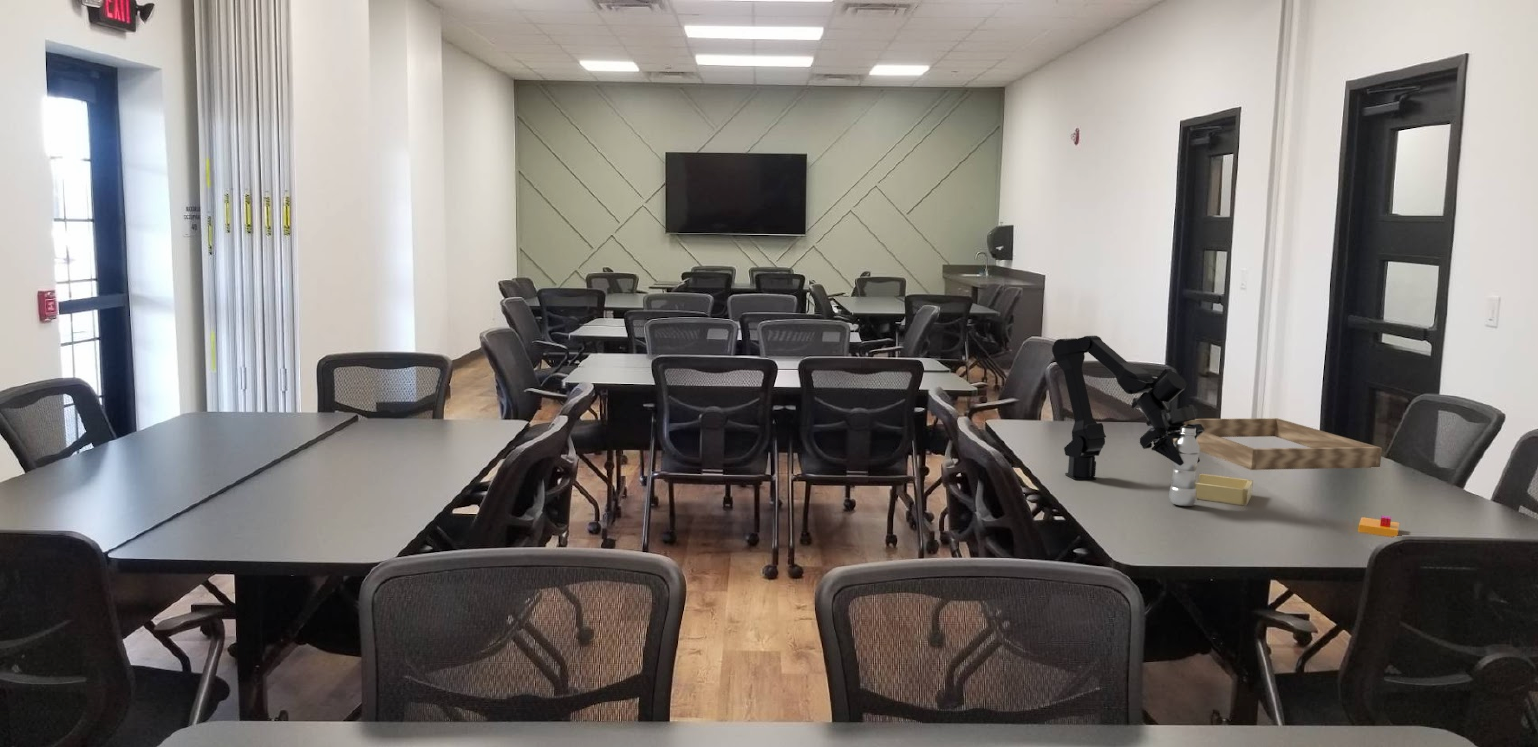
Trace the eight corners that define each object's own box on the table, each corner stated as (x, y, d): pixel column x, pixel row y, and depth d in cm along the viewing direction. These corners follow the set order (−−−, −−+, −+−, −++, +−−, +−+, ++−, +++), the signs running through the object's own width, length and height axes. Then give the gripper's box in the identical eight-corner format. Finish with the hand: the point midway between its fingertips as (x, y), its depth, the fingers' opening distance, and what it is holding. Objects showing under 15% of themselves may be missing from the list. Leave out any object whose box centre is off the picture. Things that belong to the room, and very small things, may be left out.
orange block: (1357, 533, 256) (1359, 515, 256) (1360, 525, 263) (1362, 508, 263) (1397, 539, 252) (1399, 521, 252) (1398, 531, 259) (1400, 514, 258)
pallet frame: (1251, 469, 320) (1252, 449, 319) (1161, 436, 368) (1162, 419, 367) (1379, 467, 328) (1382, 447, 328) (1275, 435, 376) (1277, 418, 375)
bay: (1191, 498, 284) (1192, 483, 284) (1198, 487, 296) (1199, 473, 295) (1246, 505, 278) (1247, 490, 277) (1251, 495, 289) (1253, 480, 289)
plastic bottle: (1183, 509, 272) (1189, 430, 269) (1162, 503, 278) (1168, 425, 275) (1201, 507, 275) (1208, 429, 272) (1180, 500, 281) (1186, 424, 278)
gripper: (1152, 396, 271) (1186, 448, 263) (1201, 391, 281) (1235, 442, 273) (1125, 422, 279) (1157, 473, 271) (1173, 417, 288) (1205, 466, 281)
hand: (1190, 463), depth 274 cm, fingers closed on plastic bottle, 6 cm apart
